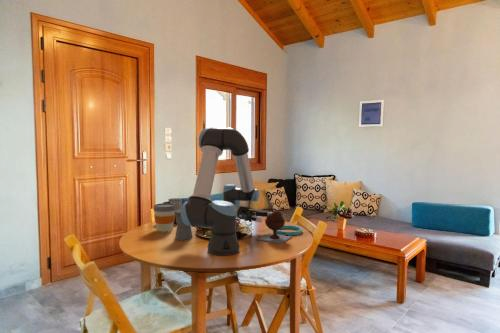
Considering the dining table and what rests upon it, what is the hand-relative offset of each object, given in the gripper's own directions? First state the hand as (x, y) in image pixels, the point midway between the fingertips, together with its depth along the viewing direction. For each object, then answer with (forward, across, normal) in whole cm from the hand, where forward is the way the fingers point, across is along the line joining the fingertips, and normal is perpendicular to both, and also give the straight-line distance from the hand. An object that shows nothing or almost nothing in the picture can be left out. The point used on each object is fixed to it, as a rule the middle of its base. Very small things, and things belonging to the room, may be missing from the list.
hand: (269, 218), depth 182 cm
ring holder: (+1, -16, -11) cm, 20 cm away
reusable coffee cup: (-54, +30, -11) cm, 63 cm away
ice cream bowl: (+4, 0, -10) cm, 11 cm away
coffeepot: (-32, +32, -11) cm, 47 cm away
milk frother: (-65, +15, -11) cm, 68 cm away
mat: (+4, 0, -11) cm, 11 cm away
